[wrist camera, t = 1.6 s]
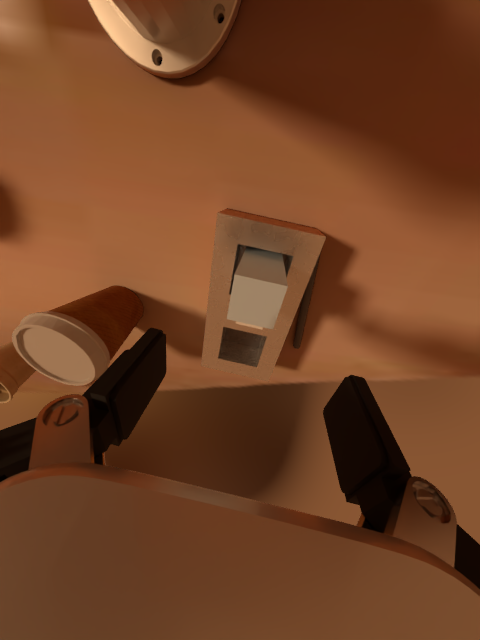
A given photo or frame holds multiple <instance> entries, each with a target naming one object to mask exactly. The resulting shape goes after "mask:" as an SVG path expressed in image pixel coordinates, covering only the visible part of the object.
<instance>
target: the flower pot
mask: <svg viewBox="0 0 480 640" xmlns="http://www.w3.org/2000/svg"><path fill="white" fill-rule="evenodd" d="M35 371H36V370H35V369H34V368H33V367H31V366H30V365H29V364H28V363H27V362H26V361H25V360H24V359H23V358H22V357H21V356H20V355H19V353H18V352H17V350H16V349H15V347H14V345H13V342H10V343H8V344H6V345H3V346H1V347H0V403H7V402H9V401H10V400H11V399H12V398H13V395H14V394H15V393H16V392H17V390H18V388H19V387H20V386H21V385H22V384H23V383H24V382H25V381H26V380H27V379H28V378H29V377H30V376H31V375H32V374H33V373H34V372H35Z"/></svg>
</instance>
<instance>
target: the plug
mask: <svg viewBox="0 0 480 640" xmlns="http://www.w3.org/2000/svg"><path fill="white" fill-rule="evenodd" d="M287 288H288V284H287V278H286V273H285V267H284V261H283V256H282V253H277V252H273V251H268V250H264V249H260V248H255V247H251V246H247V247H246V249H245V251H244V254H243V256H242V258H241V261H240V263H239V265H238V268H237V270H236V272H235V275H234V280H233V286H232V292H231V297H230V303H229V309H228V314H227V319H229V320H233V321H236V324H239V325H244V326H248V327H253V328H257V329H261V330H262V329H263V327H264V328H268V329H273V328H274V325H275V323H276V320H277V317H278V314H279V311H280V308H281V305H282V302H283V299H284V296H285V293H286V290H287Z"/></svg>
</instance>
